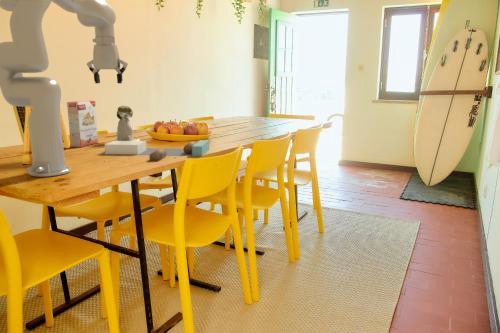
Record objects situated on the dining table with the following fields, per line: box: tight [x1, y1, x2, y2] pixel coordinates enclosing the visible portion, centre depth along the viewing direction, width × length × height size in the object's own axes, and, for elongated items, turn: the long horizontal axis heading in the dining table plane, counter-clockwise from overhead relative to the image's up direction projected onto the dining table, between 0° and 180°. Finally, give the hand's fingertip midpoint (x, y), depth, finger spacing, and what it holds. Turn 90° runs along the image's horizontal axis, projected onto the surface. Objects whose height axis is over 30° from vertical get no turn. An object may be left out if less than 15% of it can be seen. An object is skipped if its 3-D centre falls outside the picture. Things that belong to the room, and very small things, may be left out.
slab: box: [104, 140, 147, 156], centre depth 164 cm, size 10×14×4 cm
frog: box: [113, 105, 142, 141], centre depth 189 cm, size 12×13×18 cm
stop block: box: [191, 139, 210, 157], centre depth 164 cm, size 16×4×4 cm, turn 175°
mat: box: [98, 147, 193, 157], centre depth 166 cm, size 16×44×1 cm, turn 85°
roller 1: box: [148, 147, 167, 162], centre depth 151 cm, size 9×4×4 cm, turn 175°
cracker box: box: [66, 100, 99, 148], centre depth 183 cm, size 14×6×21 cm, turn 168°
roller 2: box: [182, 140, 197, 154], centre depth 164 cm, size 9×4×4 cm, turn 175°
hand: (108, 83), depth 166 cm, fingers open, 9 cm apart
